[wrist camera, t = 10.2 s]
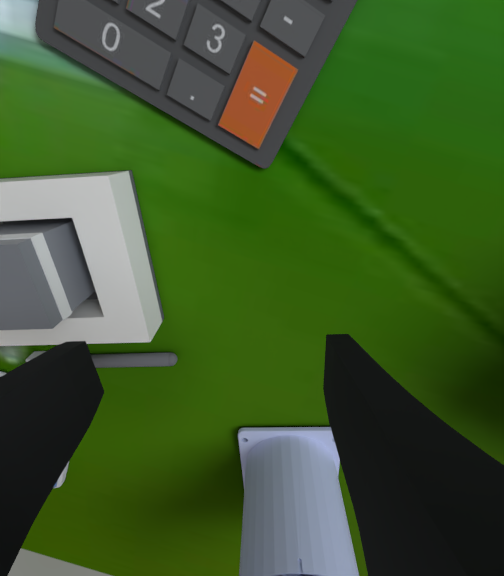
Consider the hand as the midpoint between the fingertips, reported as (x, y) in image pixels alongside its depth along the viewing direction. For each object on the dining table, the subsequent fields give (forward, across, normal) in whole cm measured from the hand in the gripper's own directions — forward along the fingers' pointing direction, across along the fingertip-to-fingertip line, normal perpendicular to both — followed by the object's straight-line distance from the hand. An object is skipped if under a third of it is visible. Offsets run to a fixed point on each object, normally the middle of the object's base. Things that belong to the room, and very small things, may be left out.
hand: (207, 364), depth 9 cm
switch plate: (+9, +12, 0) cm, 15 cm away
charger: (+9, +10, -1) cm, 13 cm away
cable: (+9, +9, +7) cm, 15 cm away
